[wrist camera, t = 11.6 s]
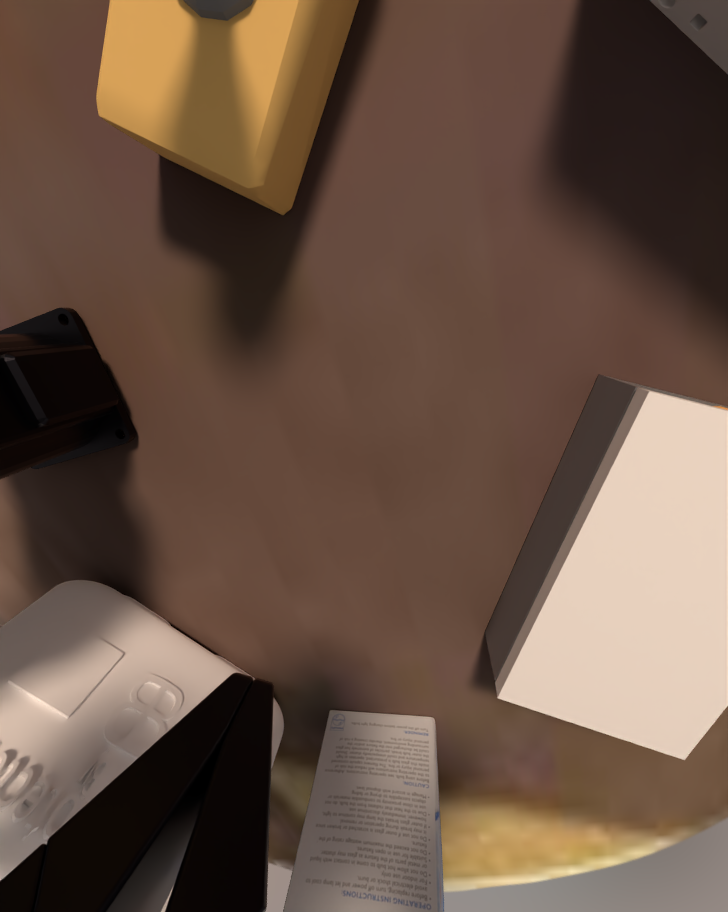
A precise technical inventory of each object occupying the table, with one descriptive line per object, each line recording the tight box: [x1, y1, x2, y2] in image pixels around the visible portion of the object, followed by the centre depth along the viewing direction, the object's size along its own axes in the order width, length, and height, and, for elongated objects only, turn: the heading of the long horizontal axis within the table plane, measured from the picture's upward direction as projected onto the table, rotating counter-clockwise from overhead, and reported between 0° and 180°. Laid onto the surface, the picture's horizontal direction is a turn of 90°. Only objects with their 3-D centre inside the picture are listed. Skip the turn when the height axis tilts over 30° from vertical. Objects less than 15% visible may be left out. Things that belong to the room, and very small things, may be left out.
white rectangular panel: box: [495, 387, 728, 760], centre depth 15 cm, size 8×14×1 cm, turn 167°
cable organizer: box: [0, 580, 284, 912], centre depth 20 cm, size 15×11×12 cm
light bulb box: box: [283, 710, 444, 912], centre depth 21 cm, size 11×7×11 cm, turn 5°
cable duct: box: [485, 374, 728, 681], centre depth 17 cm, size 8×14×3 cm, turn 167°
